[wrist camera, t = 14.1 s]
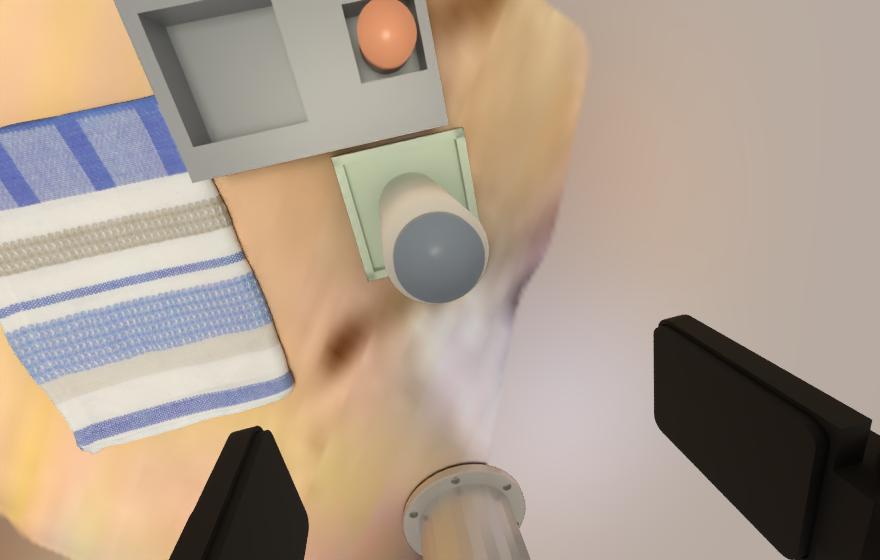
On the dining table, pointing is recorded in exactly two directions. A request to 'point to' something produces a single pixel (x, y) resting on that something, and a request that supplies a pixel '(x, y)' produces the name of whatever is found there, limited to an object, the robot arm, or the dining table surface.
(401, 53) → the plunger
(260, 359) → the dish towel
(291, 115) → the housing
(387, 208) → the cylinder
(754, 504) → the robot arm
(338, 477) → the dining table surface
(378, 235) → the tray
